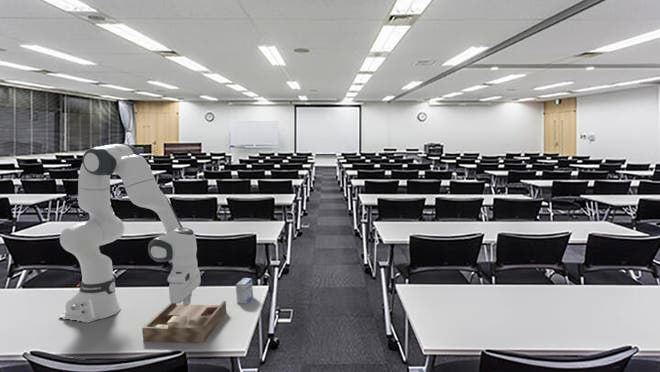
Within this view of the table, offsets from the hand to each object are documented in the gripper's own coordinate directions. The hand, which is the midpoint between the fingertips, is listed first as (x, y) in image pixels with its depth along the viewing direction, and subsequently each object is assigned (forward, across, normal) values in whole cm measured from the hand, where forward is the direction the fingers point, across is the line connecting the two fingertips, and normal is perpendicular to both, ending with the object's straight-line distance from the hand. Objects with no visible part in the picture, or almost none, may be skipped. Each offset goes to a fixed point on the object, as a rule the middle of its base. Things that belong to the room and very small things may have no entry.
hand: (187, 304), depth 169 cm
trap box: (+8, +2, +1) cm, 8 cm away
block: (+4, +11, +1) cm, 12 cm away
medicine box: (+8, -23, +16) cm, 29 cm away
